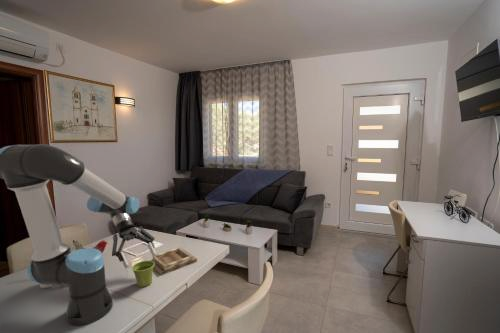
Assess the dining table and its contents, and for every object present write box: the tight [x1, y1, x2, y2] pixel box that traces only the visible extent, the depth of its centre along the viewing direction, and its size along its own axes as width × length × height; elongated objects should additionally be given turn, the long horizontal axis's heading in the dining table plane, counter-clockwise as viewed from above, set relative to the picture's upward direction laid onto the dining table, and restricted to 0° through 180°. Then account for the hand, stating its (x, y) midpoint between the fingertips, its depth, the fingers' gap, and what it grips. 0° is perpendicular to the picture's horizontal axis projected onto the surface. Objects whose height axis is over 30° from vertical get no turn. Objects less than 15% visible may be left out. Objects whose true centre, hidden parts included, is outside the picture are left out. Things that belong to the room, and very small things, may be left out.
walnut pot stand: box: [149, 246, 198, 276], centre depth 134 cm, size 20×16×4 cm
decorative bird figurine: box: [92, 240, 109, 254], centre depth 138 cm, size 3×18×10 cm, turn 129°
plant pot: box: [131, 260, 154, 288], centre depth 115 cm, size 9×9×9 cm
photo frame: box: [121, 240, 164, 257], centre depth 154 cm, size 15×1×18 cm
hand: (141, 260), depth 118 cm, fingers open, 13 cm apart
